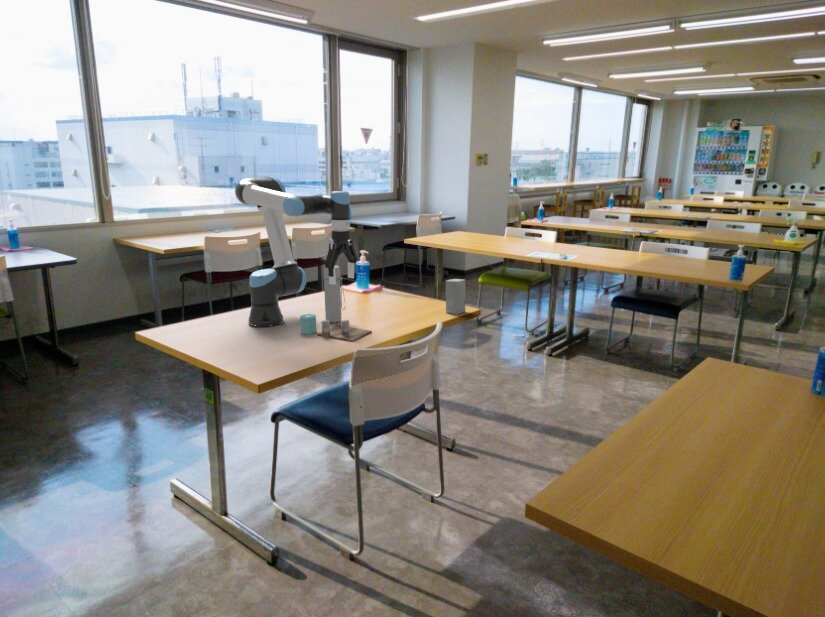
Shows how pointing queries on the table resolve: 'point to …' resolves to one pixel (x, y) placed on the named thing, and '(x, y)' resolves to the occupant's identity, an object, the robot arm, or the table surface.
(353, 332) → the stud board
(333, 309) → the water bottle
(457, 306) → the skincare box
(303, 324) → the cap
